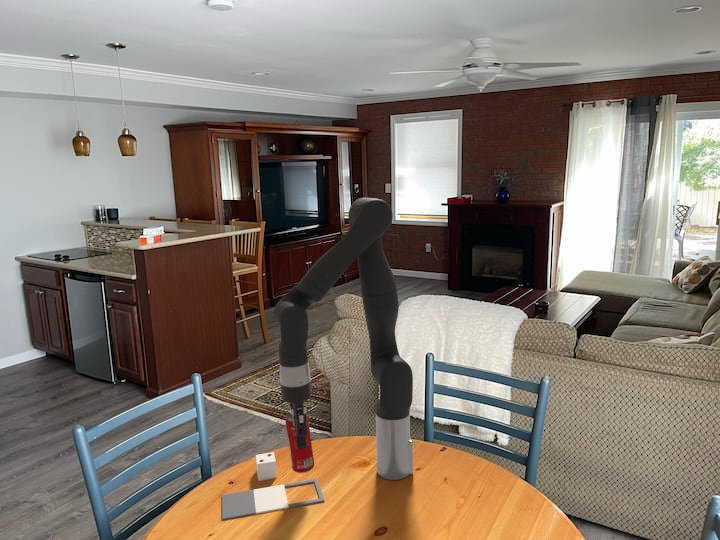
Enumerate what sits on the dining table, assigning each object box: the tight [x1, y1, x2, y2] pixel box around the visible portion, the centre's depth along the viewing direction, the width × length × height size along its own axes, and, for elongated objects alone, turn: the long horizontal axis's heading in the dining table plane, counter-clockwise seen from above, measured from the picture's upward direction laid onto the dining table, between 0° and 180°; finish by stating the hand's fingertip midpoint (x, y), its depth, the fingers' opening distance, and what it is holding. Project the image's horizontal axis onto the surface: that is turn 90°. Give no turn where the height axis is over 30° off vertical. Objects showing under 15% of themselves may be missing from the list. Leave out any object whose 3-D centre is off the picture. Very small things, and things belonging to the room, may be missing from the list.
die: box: [255, 451, 277, 482], centre depth 147 cm, size 5×5×5 cm
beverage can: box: [285, 412, 315, 474], centre depth 135 cm, size 6×6×15 cm
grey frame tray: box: [221, 478, 325, 521], centre depth 136 cm, size 25×10×1 cm, turn 105°
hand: (300, 441), depth 135 cm, fingers closed on beverage can, 5 cm apart
